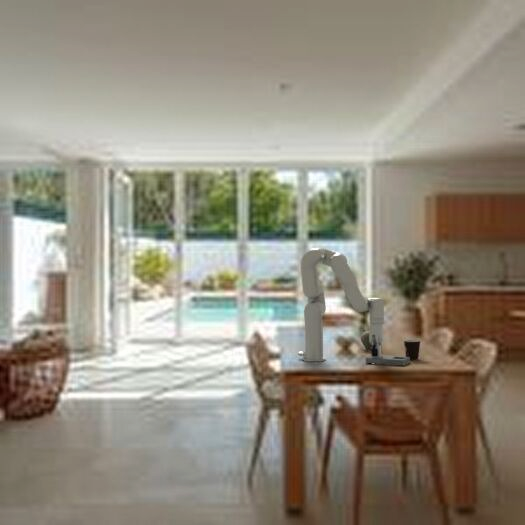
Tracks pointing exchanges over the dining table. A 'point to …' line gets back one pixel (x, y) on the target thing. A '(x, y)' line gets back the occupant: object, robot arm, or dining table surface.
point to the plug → (379, 351)
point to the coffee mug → (412, 348)
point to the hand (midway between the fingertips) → (376, 355)
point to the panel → (388, 360)
